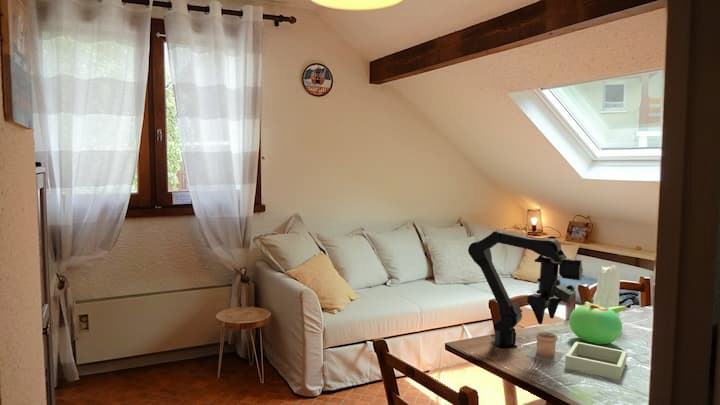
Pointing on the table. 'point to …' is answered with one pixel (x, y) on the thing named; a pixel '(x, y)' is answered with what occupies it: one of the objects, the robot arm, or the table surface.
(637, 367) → the table surface
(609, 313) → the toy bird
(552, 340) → the terracotta pot
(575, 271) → the robot arm
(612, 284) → the decorative vase
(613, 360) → the pale green square tray
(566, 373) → the table surface
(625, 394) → the table surface
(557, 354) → the slate pad
